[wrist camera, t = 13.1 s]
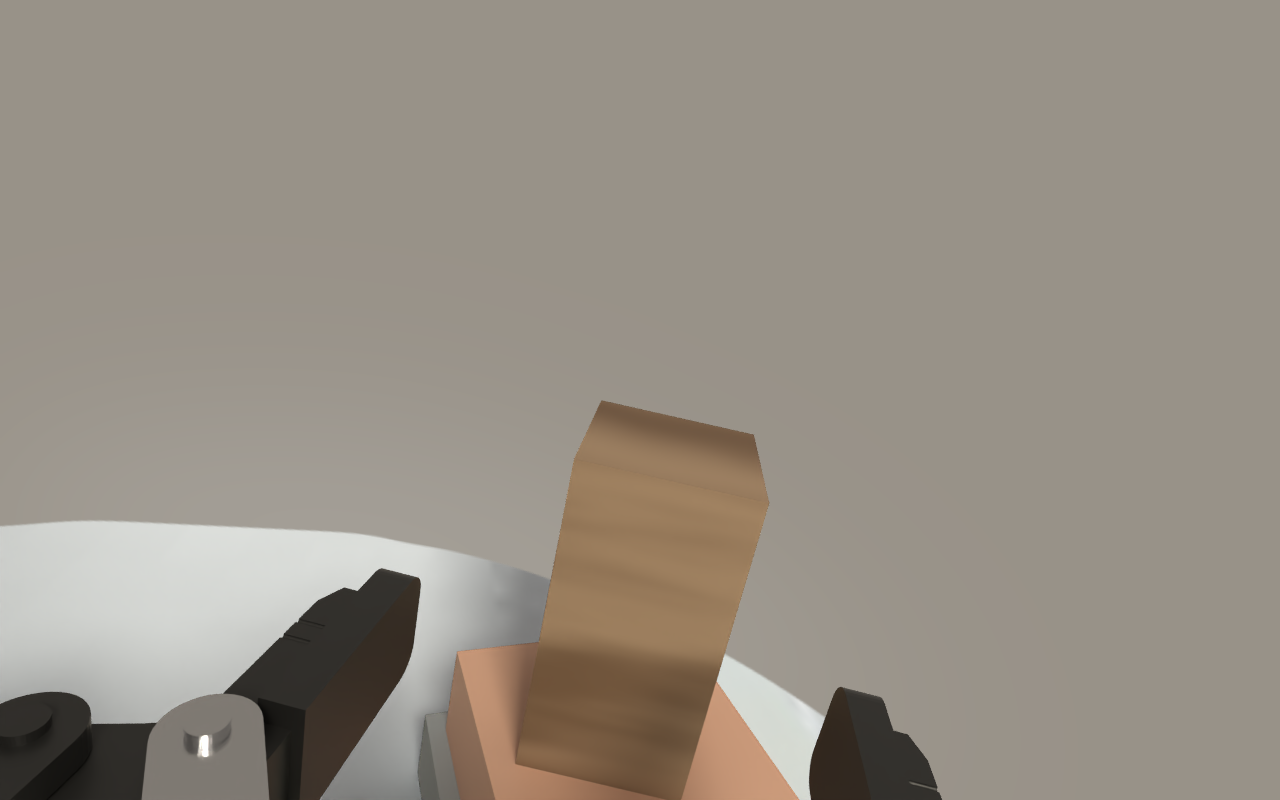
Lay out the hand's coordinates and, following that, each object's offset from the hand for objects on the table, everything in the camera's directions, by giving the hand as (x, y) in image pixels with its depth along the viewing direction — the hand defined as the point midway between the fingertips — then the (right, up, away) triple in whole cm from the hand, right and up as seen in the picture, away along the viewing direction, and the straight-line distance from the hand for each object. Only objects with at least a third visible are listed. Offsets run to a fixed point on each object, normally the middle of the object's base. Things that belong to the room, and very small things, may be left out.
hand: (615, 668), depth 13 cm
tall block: (-1, -6, +10) cm, 11 cm away
